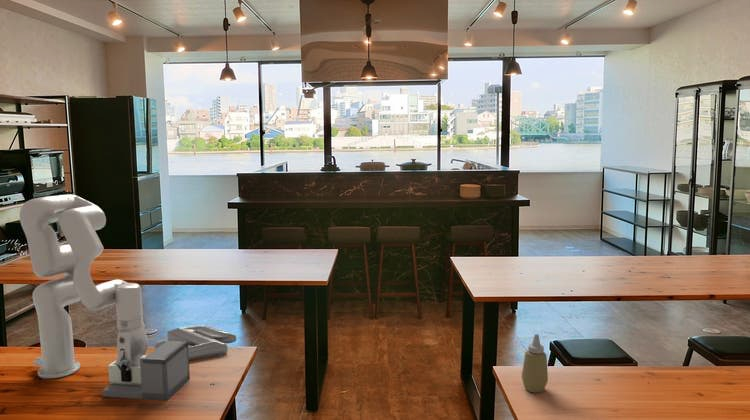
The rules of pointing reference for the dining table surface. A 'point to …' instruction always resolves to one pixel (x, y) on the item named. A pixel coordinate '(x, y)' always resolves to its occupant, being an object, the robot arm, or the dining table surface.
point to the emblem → (201, 340)
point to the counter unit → (157, 374)
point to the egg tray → (116, 373)
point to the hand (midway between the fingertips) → (133, 375)
